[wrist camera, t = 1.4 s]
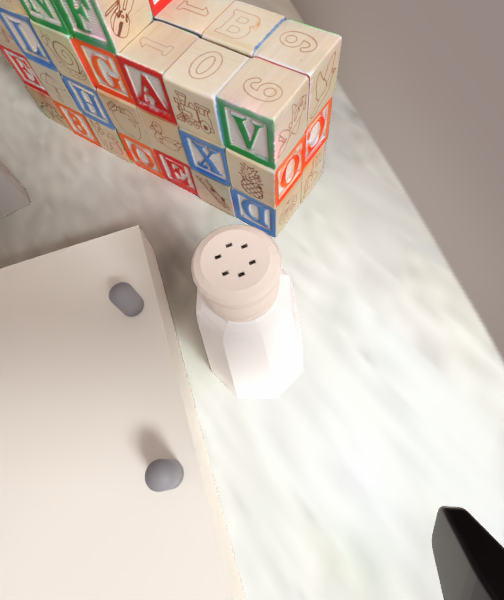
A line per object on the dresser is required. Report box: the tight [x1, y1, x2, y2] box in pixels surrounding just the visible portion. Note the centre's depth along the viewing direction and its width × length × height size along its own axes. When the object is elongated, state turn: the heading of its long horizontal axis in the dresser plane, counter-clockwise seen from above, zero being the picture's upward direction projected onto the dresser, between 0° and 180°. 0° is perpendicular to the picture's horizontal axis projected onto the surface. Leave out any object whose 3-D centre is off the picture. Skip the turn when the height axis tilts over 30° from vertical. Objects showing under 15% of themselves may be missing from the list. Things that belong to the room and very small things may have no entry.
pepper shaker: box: [191, 225, 303, 399], centre depth 17 cm, size 5×5×11 cm
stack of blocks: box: [0, 0, 341, 237], centre depth 23 cm, size 21×6×12 cm, turn 56°
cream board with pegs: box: [0, 225, 246, 600], centre depth 18 cm, size 22×11×5 cm, turn 18°
